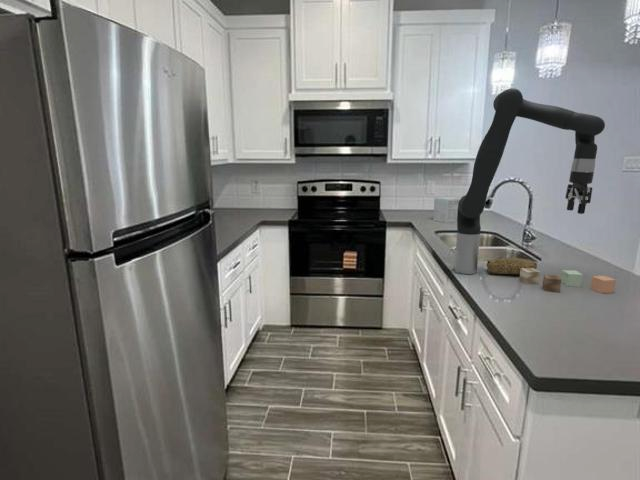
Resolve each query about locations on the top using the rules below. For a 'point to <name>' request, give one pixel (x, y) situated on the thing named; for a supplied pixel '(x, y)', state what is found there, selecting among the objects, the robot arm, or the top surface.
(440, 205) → the supplement box
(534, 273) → the maple block
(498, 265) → the sponge
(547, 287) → the walnut block
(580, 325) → the top surface
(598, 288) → the terracotta block
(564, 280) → the sage block
